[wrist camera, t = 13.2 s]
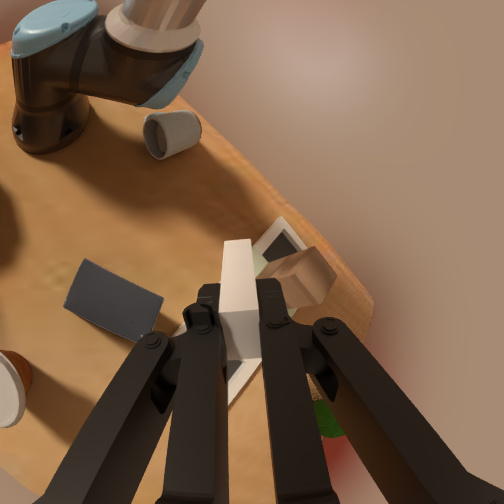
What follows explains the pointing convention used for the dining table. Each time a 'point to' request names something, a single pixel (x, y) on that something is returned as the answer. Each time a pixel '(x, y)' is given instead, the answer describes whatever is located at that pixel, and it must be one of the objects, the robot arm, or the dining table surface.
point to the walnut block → (301, 277)
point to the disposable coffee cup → (13, 387)
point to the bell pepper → (326, 420)
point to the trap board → (263, 251)
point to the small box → (112, 302)
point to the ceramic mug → (171, 132)
